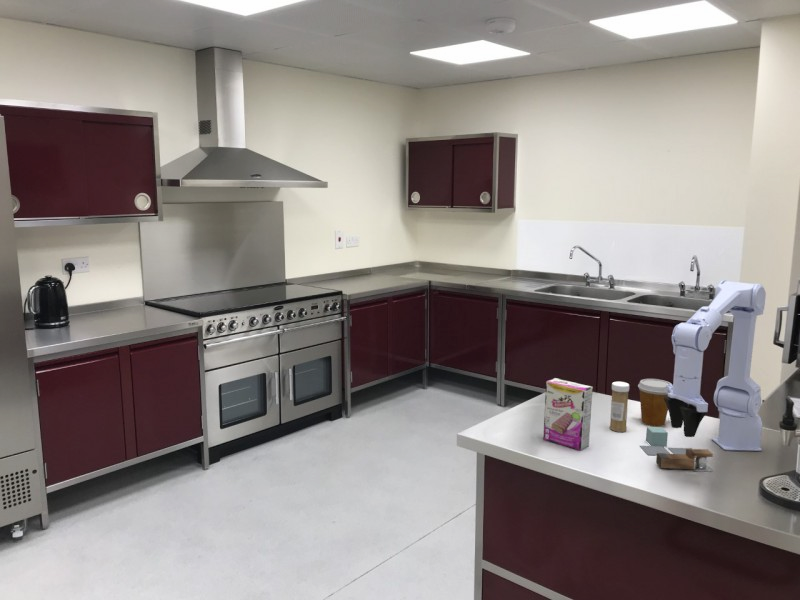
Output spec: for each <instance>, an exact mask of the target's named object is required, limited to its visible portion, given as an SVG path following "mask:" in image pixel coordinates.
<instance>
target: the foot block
mask: <svg viewBox="0 0 800 600" xmlns="http://www.w3.org/2000/svg"><path fill="white" fill-rule="evenodd" d="M645 432H646V433H645V435H646V436H645V441H647V442H648V443H649V444H650V445H651V446H663V447H664V448H667V447H668V434H669V432H668V431H667V430H665V429H664V428H663V426H660V427H656V426H646V431H645ZM647 442H646V443H647ZM648 443H647V444H648ZM649 444H648V445H649ZM650 445H649V446H650Z"/></svg>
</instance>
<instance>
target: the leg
mask: <svg viewBox="0 0 800 600" xmlns="http://www.w3.org/2000/svg"><path fill="white" fill-rule="evenodd" d="M713 455H714V453H713V452H711V451H710V450H709V449H704V448H703V449H700V448H692V449H686V454H674V453H670V454H665V453H657V456H656V457H655V460H656V461H655V463H656V464H657V466H658V467H659V468H660V469H686V470H687V469H688V470H690V469H691V470H694V463H695V460H696V458H695V457H707V458H713Z"/></svg>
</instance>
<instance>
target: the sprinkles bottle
mask: <svg viewBox="0 0 800 600" xmlns="http://www.w3.org/2000/svg"><path fill="white" fill-rule="evenodd" d="M629 391H630V384H629V383H627V382H625V381H614V382H612V383H611V392H612V393H611V403H610V417H609V418H610V421H609V422H610V423H609V424H610V425H609V429H610V430H611V431H613V432H617V433H623V432H626V431H627V419H628V400H629Z"/></svg>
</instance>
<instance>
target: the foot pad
mask: <svg viewBox="0 0 800 600" xmlns="http://www.w3.org/2000/svg"><path fill="white" fill-rule="evenodd" d="M686 449H693V447H668V450H669V451H670V452H671V453H672V454H686ZM694 459H696V457H695V458H694Z"/></svg>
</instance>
